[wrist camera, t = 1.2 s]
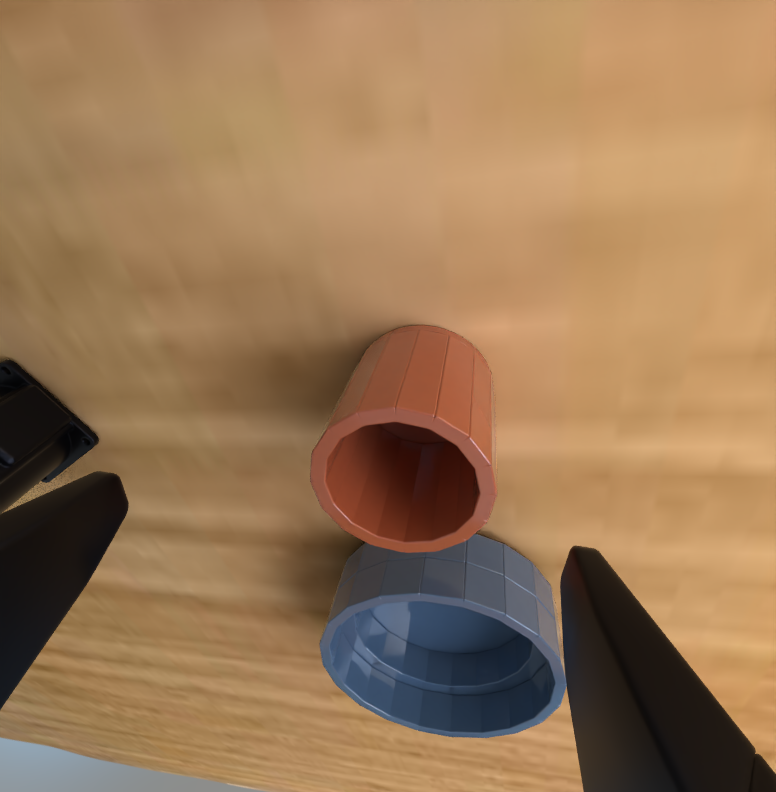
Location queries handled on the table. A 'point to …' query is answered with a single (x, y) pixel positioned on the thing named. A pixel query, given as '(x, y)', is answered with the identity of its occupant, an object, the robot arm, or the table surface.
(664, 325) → the table surface
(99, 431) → the table surface
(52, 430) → the robot arm
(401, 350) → the pot
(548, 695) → the bowl
